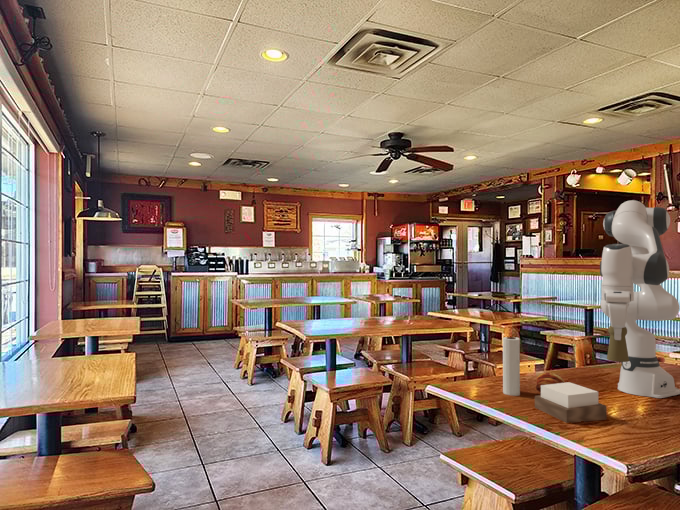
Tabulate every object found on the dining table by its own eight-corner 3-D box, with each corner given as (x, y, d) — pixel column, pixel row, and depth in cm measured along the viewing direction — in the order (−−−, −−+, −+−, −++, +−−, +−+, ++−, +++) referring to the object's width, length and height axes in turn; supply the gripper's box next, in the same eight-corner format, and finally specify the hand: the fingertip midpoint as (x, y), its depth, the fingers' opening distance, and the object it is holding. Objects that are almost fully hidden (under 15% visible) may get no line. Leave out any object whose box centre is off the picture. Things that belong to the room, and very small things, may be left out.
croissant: (554, 391, 187) (543, 373, 190) (577, 382, 181) (565, 363, 184) (533, 402, 172) (522, 382, 175) (557, 392, 166) (545, 371, 169)
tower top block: (569, 393, 159) (569, 382, 159) (598, 404, 148) (598, 391, 148) (540, 397, 156) (540, 385, 156) (568, 408, 144) (568, 395, 144)
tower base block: (571, 406, 161) (571, 392, 161) (606, 421, 146) (606, 405, 146) (534, 410, 157) (534, 395, 157) (566, 426, 143) (566, 409, 143)
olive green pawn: (632, 362, 143) (632, 326, 143) (611, 361, 144) (610, 326, 144) (624, 358, 149) (624, 324, 149) (604, 357, 150) (603, 323, 150)
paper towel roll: (508, 397, 170) (508, 339, 170) (499, 392, 176) (499, 336, 176) (526, 396, 172) (525, 338, 172) (516, 391, 178) (516, 336, 178)
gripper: (606, 292, 157) (606, 332, 157) (605, 296, 139) (605, 342, 139) (628, 292, 154) (628, 334, 154) (630, 297, 136) (630, 344, 136)
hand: (617, 338), depth 146 cm, fingers closed on olive green pawn, 5 cm apart
